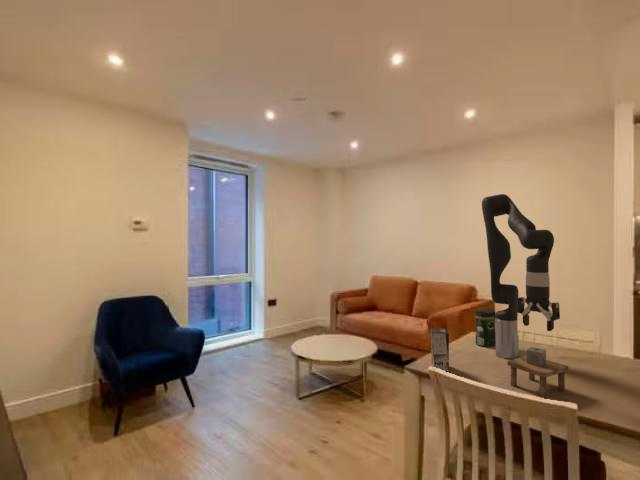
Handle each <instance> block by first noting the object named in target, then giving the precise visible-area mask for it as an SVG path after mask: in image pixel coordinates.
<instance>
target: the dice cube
mask: <svg viewBox="0 0 640 480" xmlns="http://www.w3.org/2000/svg"><path fill="white" fill-rule="evenodd" d="M526 356H527V363H528V364H532V365H537V366H541V367H543V366H544V365H545V364H546V360H547V350H546V349H545V348H539V347H538V348H537V347H533V346H530V347H528V348H527V349H526Z"/></svg>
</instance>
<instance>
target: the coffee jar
mask: <svg viewBox="0 0 640 480" xmlns="http://www.w3.org/2000/svg"><path fill="white" fill-rule="evenodd" d="M474 312H475V313H474V314H475V315H474V318H475V321H476V327H475V329H476V330H475V344H476V345H478V346H480V347H484V348H485V347H486V348H487V347H493V346H495V313H496V311H495V309H494V308H490V307H486V308H479V309H476V310H475V311H474Z"/></svg>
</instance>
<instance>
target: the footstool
mask: <svg viewBox="0 0 640 480" xmlns="http://www.w3.org/2000/svg"><path fill="white" fill-rule="evenodd" d="M506 363H507V366H509V367H510V386H511V387H517V385H518V383H517V382H518V380H517V379H518V377H517V376H518V374H517V372H518V371H517V370H521V371H523V372H527V373H528V380H529V381H535V380H536V376H538V377H539V397H540V398H541V397H544V398H543V399H547V378H549V377H552V376H555V375H557V390H558V391H559V392H565V390H566V384H565V383H566V379H565V377H566V375H565V373H566V371H569V365H566V364H561V363H558V362H555V361H552V360H549V359H546V364H545V365H544V366H543V367H541V366H537V365H532V364H528V363H527V355H525V356H520V357H517V358H514V359H511V360H510V359H509V360H507V362H506Z"/></svg>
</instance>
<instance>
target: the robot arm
mask: <svg viewBox="0 0 640 480" xmlns="http://www.w3.org/2000/svg"><path fill="white" fill-rule="evenodd" d="M481 211H482V216H483V220H484V221H483V222H484V226H485V233H486V243H487V253H488V254H487V255H488V256H487V257H488V264H489V269H490V270H489V272H490V294H491V300H492V302H494V303H495V304H499V305H500V304H501V305H508V307H507V308H506V309H501V310H497V311H495V345H494V346H495V356H498V357H499V358H502V359H508V360H510V359H511V360H513V359H517V358H519V355H520V352H519V351H520V347H519V346H520V344H519V342H520V341H519V337H520V336H519V335H518V333H519V332H518V331H519V329H518V327H519V325H518V314H521V315H522V324H523V326H525V327H527V326H530V315H529V314H530V313H531V312H537V313H541V314H542V315H543V316H544V317H545V318H546V330H547V331H546V332H551V331H553V330H554V329H555V321H557V320H560V319H561V314H560V303H559V302H558V301H557V302H551V301H550V298H551V297H550V293H551V292H550V291H551V290H550V286H551V285H550V284H551V282H550V273H549V269H550V268H549V265H550V264H549V261H550V256H551V253H552V251H553V248H554V243H555V237H554V235H553V233H552V231H551V230H550V229H549V230H548V229H537V227H536V225H535V224H534V222H532V221H531V219H529V218H527V217H526V216H525V215H524V214H523V213H522V211H520V210H519V208H518V207H517V205H516V204H515V202H514V201H513V200H512V199H511V198H510V197H509V195H507V194H505V193H500V194H495V195H494V194H493V195H491V196H486V197H485V196H484V198H483V199H482V200H481ZM505 215H508V217H507V218H508V219H507V225H508V227H509V229H510V230H511V231H512V232H513V233H514V234H515V235H516V236H517V237H518V238H517V239H518V240H519V242H520V244H521V246H522V247H523V248H525V249H527V250H537V252H536V253H535V254H532V255H529V256H528V257H526V261H525V262H526V265H525V266H526V267H525V268H526V270H525V271H526V273H525V296H526V298H525V297H524V296H521V297H520V296H519V289H518V286H517V285H515V284H506V283H501V276H502V274H503V272H504V270H505V269H506V268H507V267H508V265H509V263H510V261H511V258H512V252H511V244H510V242H509V240H508V239H507V237H506V236H505V235H504V234H503V232H501V231H500V230H499V228H498V227H497V225H496V222H495V217H499V216H505ZM525 305H526V307H525ZM550 308H551V309H550Z"/></svg>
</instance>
